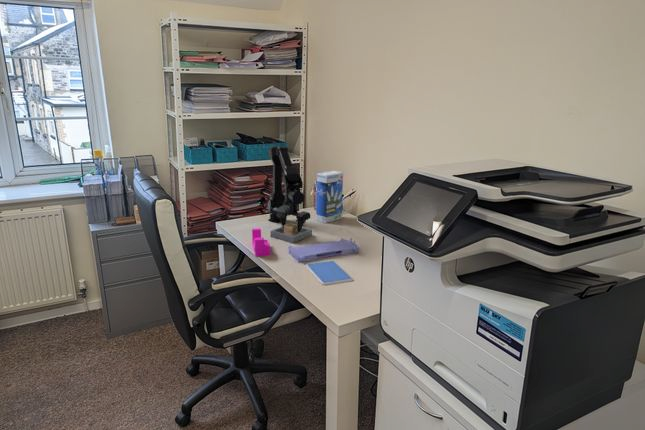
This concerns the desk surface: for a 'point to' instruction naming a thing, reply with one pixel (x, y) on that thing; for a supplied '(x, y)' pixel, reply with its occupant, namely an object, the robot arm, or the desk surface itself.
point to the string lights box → (329, 196)
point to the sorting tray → (280, 235)
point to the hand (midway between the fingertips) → (291, 230)
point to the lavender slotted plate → (323, 250)
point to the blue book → (328, 272)
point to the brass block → (291, 229)
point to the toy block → (260, 243)
